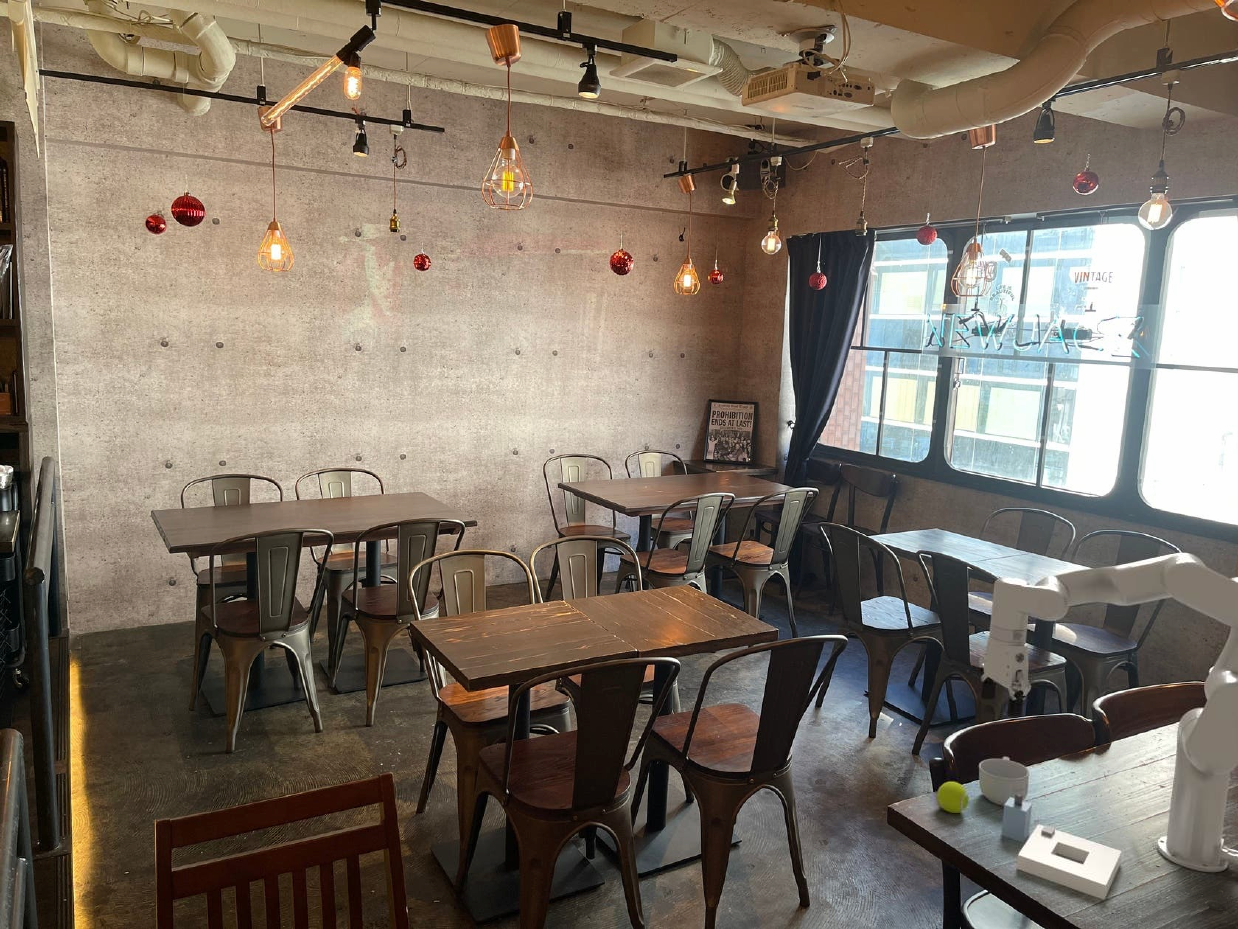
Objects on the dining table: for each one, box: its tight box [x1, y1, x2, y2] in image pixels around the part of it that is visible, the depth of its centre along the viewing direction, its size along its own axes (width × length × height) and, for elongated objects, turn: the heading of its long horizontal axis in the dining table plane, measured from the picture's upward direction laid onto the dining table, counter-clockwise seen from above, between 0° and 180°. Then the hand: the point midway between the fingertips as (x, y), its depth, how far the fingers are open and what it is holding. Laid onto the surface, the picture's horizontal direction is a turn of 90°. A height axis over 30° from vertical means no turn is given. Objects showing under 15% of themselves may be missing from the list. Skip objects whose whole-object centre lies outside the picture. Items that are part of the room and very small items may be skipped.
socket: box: [1016, 824, 1122, 901], centre depth 187 cm, size 16×16×4 cm
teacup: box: [978, 756, 1030, 807], centre depth 215 cm, size 14×11×8 cm
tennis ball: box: [936, 781, 970, 814], centre depth 208 cm, size 7×7×7 cm
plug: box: [1000, 794, 1033, 843], centre depth 198 cm, size 4×4×9 cm
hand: (1000, 707), depth 207 cm, fingers open, 9 cm apart
